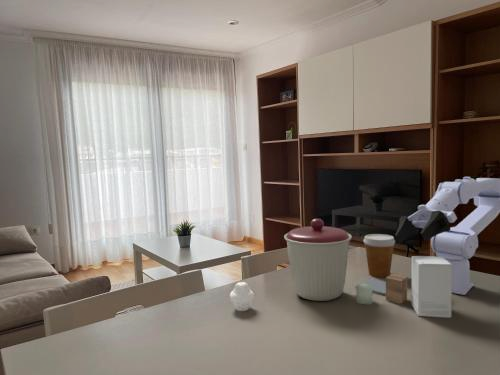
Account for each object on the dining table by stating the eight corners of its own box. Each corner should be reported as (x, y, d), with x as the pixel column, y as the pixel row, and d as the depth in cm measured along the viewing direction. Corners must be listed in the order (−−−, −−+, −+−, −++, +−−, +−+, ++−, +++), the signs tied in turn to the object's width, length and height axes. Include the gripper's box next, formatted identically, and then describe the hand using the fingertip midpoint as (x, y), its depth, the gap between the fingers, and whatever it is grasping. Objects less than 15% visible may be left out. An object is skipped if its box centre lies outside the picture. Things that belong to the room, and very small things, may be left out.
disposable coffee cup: (361, 269, 124) (361, 233, 123) (391, 269, 123) (391, 233, 122) (366, 279, 115) (365, 240, 114) (398, 279, 113) (398, 240, 112)
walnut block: (391, 295, 101) (391, 273, 100) (407, 299, 98) (407, 276, 98) (385, 300, 98) (385, 277, 98) (401, 303, 95) (401, 280, 95)
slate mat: (369, 280, 114) (369, 278, 114) (399, 286, 108) (399, 284, 108) (355, 288, 107) (355, 286, 107) (386, 295, 101) (386, 293, 101)
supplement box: (452, 318, 86) (452, 264, 85) (417, 316, 88) (417, 263, 87) (442, 305, 93) (443, 255, 92) (410, 304, 95) (410, 255, 94)
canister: (277, 302, 99) (274, 223, 97) (295, 280, 115) (293, 212, 114) (347, 311, 92) (346, 226, 90) (356, 286, 109) (355, 214, 107)
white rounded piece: (259, 307, 96) (258, 281, 95) (242, 315, 91) (241, 287, 91) (242, 302, 100) (241, 276, 100) (225, 309, 96) (224, 282, 95)
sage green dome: (360, 297, 101) (360, 282, 100) (375, 300, 98) (374, 285, 98) (353, 301, 98) (353, 286, 97) (368, 305, 95) (368, 290, 95)
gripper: (407, 200, 104) (379, 226, 97) (456, 191, 91) (428, 220, 85) (419, 222, 104) (392, 249, 98) (469, 216, 92) (442, 247, 85)
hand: (410, 238), depth 91 cm, fingers open, 7 cm apart
